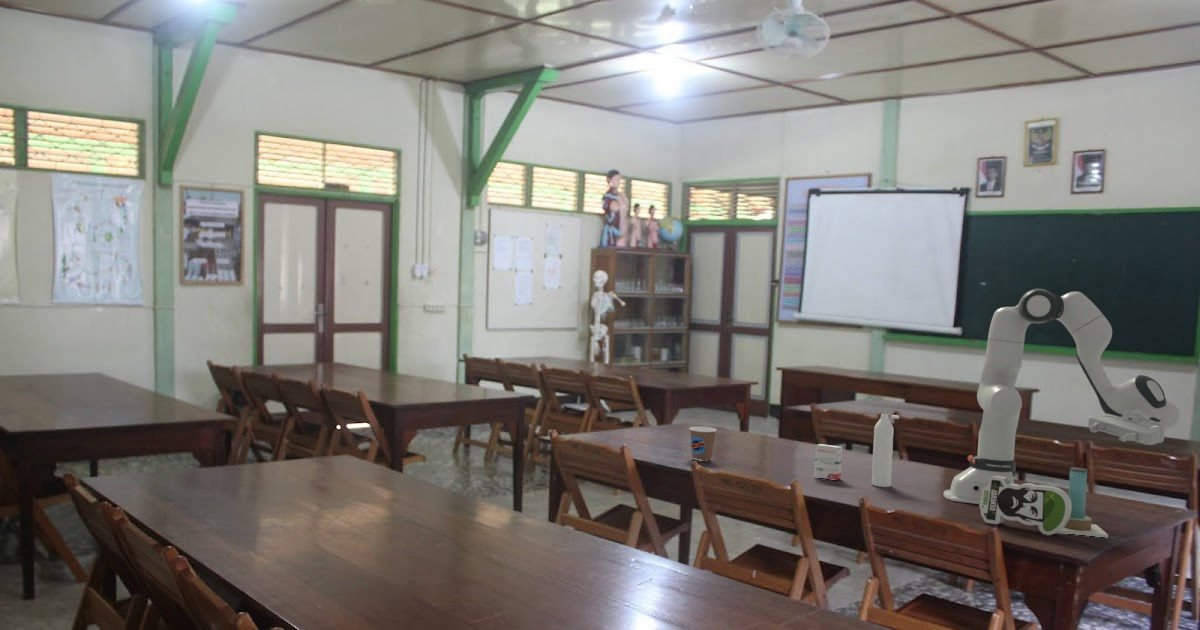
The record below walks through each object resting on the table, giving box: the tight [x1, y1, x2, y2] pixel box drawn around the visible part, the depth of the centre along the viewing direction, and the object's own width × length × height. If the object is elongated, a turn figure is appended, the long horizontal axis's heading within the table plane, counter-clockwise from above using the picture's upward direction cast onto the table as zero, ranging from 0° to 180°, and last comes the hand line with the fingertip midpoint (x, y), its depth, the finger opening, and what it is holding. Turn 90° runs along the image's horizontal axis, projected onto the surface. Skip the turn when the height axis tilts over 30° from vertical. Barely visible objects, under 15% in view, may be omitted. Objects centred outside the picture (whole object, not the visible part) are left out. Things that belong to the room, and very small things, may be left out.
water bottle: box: [871, 413, 900, 488], centre depth 326 cm, size 9×6×25 cm
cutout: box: [978, 476, 1072, 536], centre depth 273 cm, size 15×3×25 cm
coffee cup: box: [689, 426, 717, 460], centre depth 362 cm, size 10×10×12 cm
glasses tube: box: [1068, 467, 1088, 519], centre depth 274 cm, size 5×5×14 cm
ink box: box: [813, 443, 843, 481], centre depth 336 cm, size 9×5×12 cm, turn 58°
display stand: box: [1056, 515, 1109, 539], centre depth 274 cm, size 14×12×4 cm
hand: (1106, 433), depth 280 cm, fingers open, 8 cm apart
